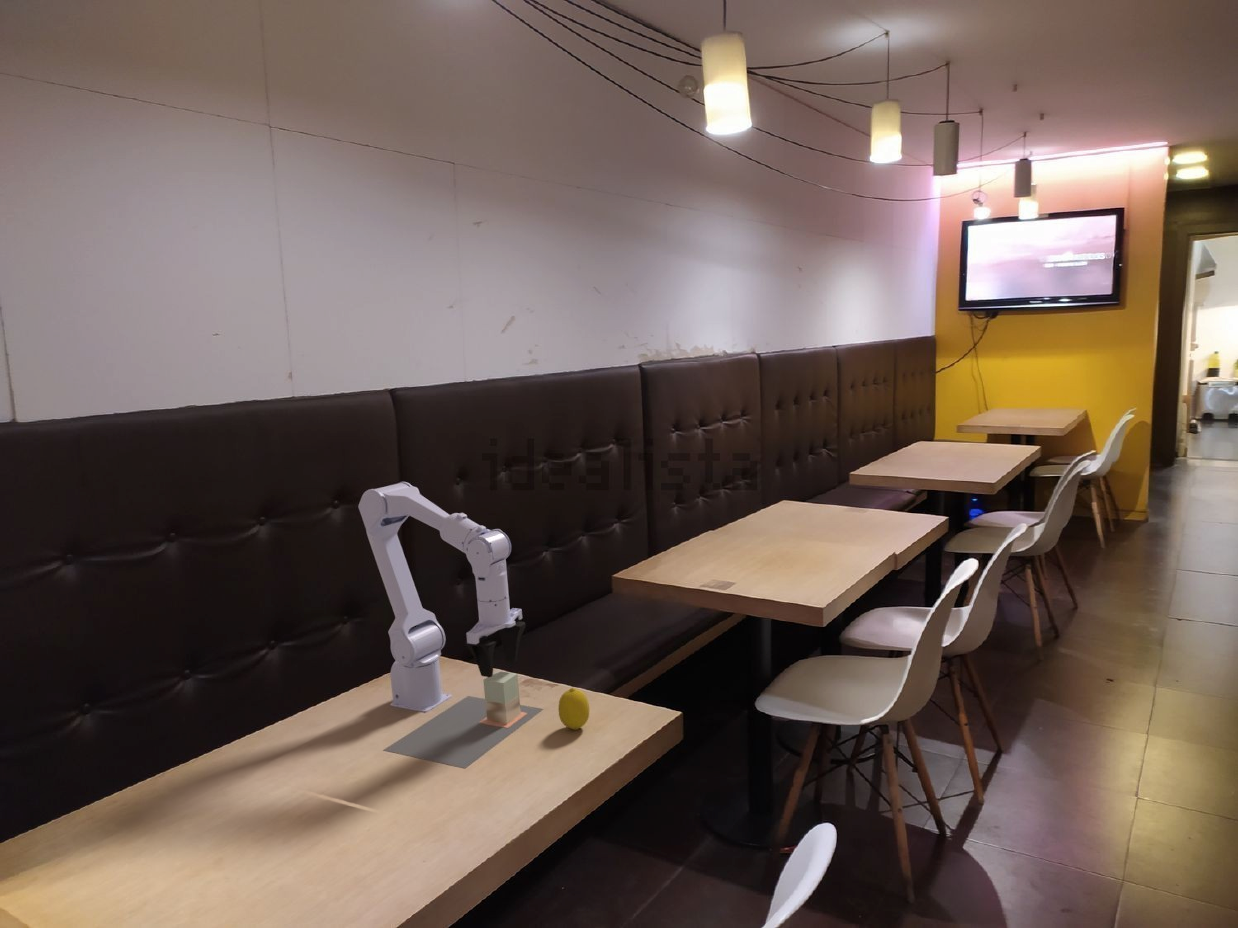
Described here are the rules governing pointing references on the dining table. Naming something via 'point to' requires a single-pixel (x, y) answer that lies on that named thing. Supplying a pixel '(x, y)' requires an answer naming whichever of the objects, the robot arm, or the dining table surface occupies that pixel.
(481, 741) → the grey mat
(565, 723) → the lemon
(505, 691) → the sage block
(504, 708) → the cream block
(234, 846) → the dining table surface
